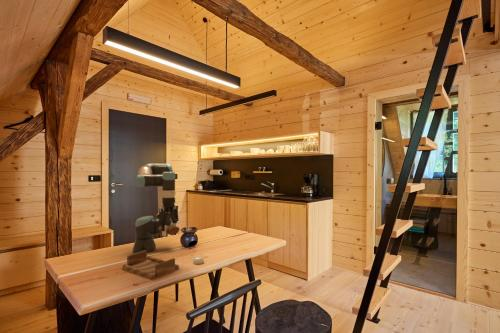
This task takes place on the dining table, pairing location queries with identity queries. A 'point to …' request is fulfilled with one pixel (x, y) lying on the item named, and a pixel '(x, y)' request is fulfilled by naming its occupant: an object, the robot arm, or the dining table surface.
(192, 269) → the dining table surface
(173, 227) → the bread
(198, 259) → the beige round lump
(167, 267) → the cradle
